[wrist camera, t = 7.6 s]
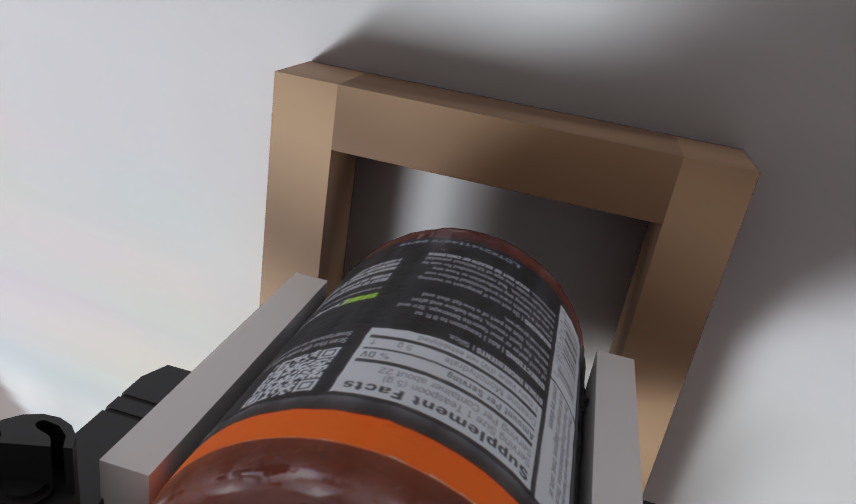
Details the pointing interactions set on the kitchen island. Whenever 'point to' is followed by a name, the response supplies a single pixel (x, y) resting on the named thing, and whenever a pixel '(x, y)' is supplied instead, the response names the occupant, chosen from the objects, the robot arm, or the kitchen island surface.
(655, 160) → the brown wooden frame
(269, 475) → the supplement bottle
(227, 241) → the kitchen island surface
